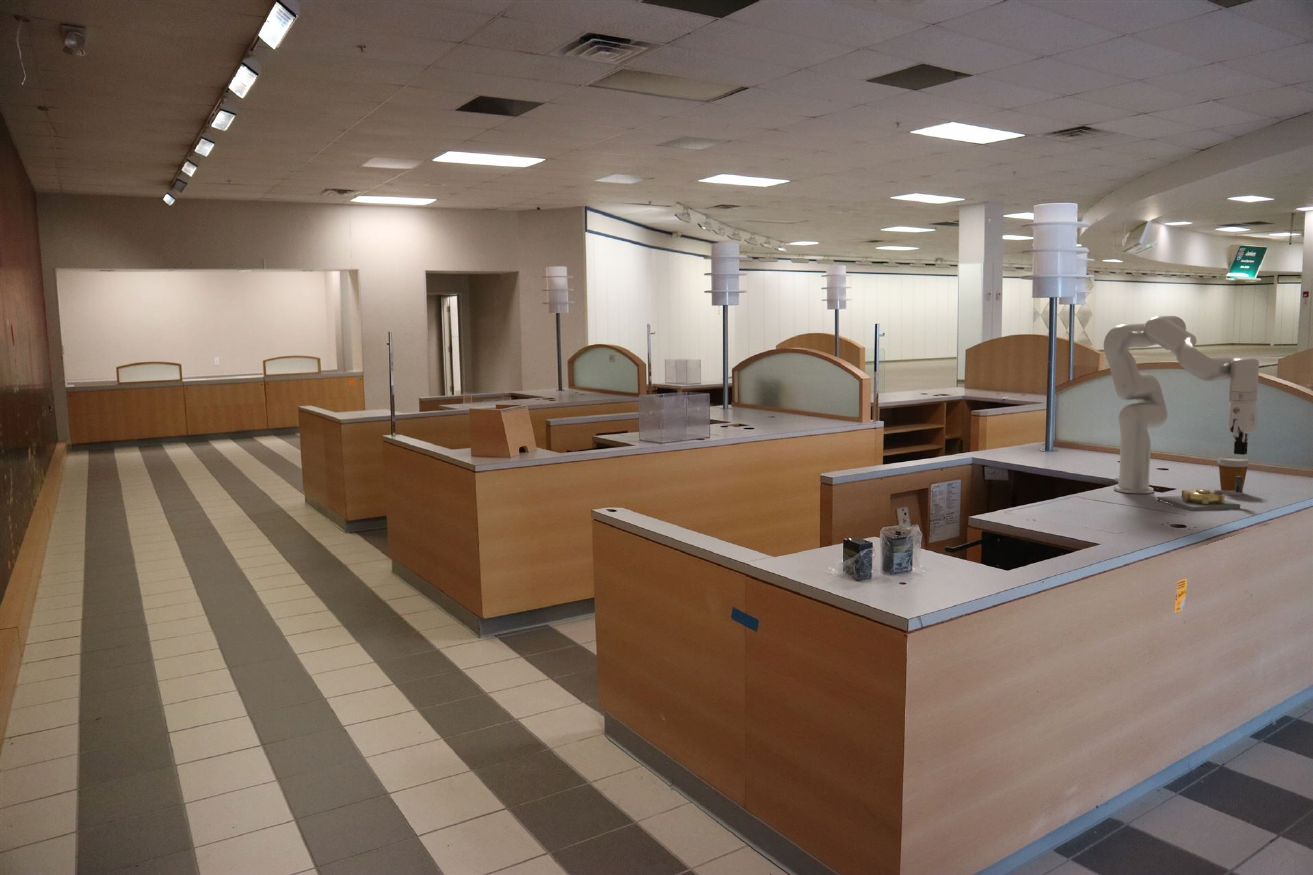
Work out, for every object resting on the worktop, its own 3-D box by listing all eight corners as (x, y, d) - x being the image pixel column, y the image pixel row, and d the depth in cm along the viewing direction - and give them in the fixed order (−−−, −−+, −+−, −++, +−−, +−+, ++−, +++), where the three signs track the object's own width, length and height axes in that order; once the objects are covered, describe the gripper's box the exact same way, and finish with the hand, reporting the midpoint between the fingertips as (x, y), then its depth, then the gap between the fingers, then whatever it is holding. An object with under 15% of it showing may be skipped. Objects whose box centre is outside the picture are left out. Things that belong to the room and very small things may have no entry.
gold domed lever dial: (1184, 503, 293) (1186, 477, 292) (1180, 495, 305) (1181, 471, 304) (1245, 506, 287) (1246, 479, 285) (1238, 498, 298) (1239, 473, 297)
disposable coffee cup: (1215, 489, 321) (1217, 456, 320) (1247, 491, 316) (1249, 457, 315) (1215, 493, 313) (1217, 460, 312) (1248, 495, 308) (1250, 461, 307)
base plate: (1156, 500, 305) (1157, 496, 305) (1203, 498, 307) (1203, 494, 307) (1191, 510, 289) (1191, 506, 288) (1240, 508, 290) (1240, 504, 290)
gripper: (1247, 399, 277) (1244, 457, 279) (1265, 395, 286) (1262, 452, 288) (1220, 398, 283) (1217, 455, 285) (1239, 394, 292) (1236, 450, 294)
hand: (1240, 453), depth 286 cm, fingers closed
